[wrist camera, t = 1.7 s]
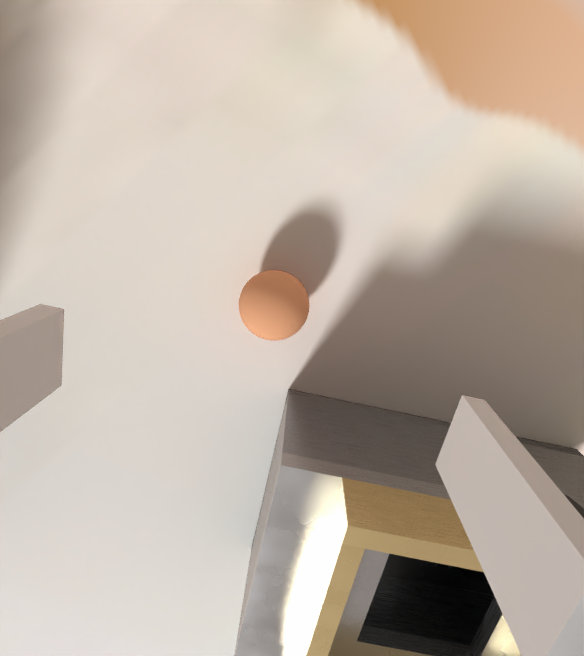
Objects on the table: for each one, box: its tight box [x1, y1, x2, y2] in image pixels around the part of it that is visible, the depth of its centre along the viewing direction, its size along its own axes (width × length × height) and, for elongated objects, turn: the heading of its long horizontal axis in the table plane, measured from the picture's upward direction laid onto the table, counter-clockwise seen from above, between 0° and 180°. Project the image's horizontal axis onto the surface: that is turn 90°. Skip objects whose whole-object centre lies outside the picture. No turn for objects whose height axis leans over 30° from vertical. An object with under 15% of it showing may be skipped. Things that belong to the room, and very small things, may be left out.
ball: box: [239, 270, 309, 340], centre depth 23 cm, size 4×4×4 cm
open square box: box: [234, 389, 584, 656], centre depth 24 cm, size 20×14×11 cm
